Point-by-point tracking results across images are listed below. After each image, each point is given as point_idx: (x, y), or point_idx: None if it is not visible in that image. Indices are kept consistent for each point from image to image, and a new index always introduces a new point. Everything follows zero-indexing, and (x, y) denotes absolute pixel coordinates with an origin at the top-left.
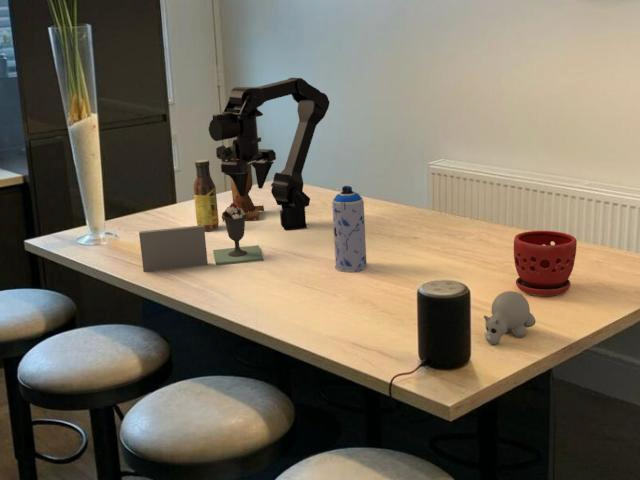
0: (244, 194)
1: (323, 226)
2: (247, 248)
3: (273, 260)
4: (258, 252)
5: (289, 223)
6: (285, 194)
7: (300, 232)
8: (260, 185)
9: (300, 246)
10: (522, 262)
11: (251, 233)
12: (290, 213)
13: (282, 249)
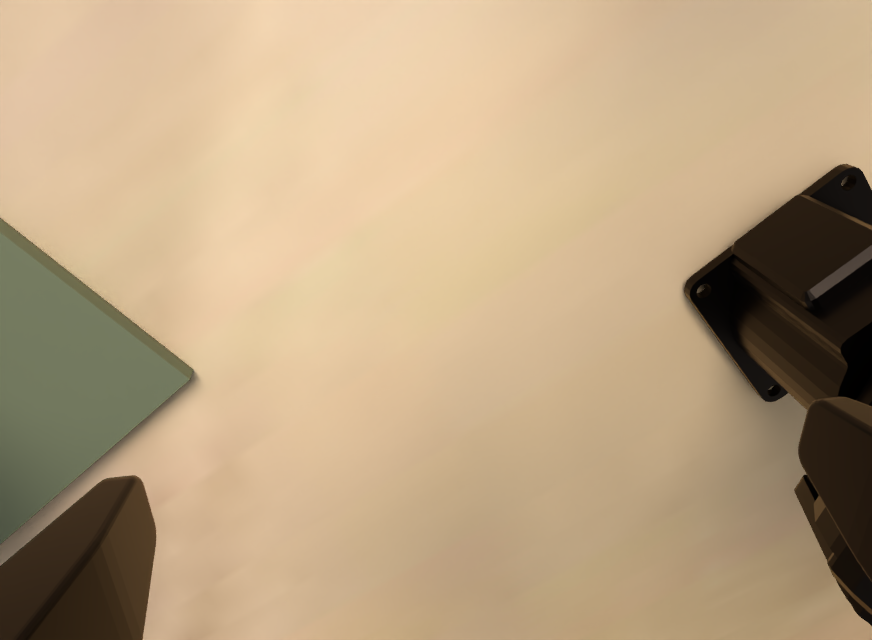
0: (145, 573)
1: None
2: (65, 355)
3: None
4: (35, 486)
5: (747, 319)
6: (851, 563)
7: (655, 409)
8: (839, 477)
9: (352, 580)
10: None
11: (540, 43)
12: (800, 379)
13: (241, 530)
